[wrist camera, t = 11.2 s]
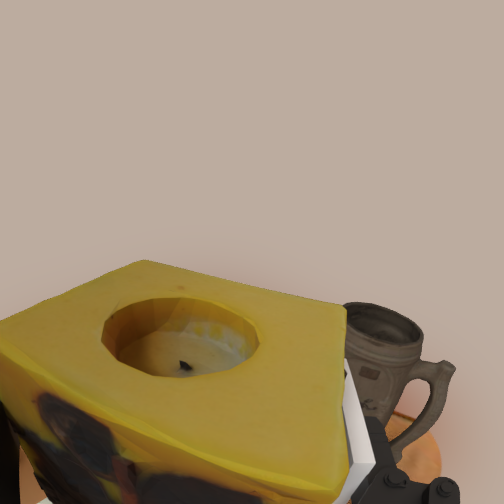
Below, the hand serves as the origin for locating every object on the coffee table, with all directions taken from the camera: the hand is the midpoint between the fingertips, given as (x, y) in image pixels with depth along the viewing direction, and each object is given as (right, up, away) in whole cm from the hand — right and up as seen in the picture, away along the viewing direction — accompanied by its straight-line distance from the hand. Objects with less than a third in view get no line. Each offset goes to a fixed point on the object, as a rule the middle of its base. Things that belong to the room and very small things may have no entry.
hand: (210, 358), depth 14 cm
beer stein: (+13, -21, +18) cm, 30 cm away
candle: (-1, -7, -2) cm, 7 cm away
